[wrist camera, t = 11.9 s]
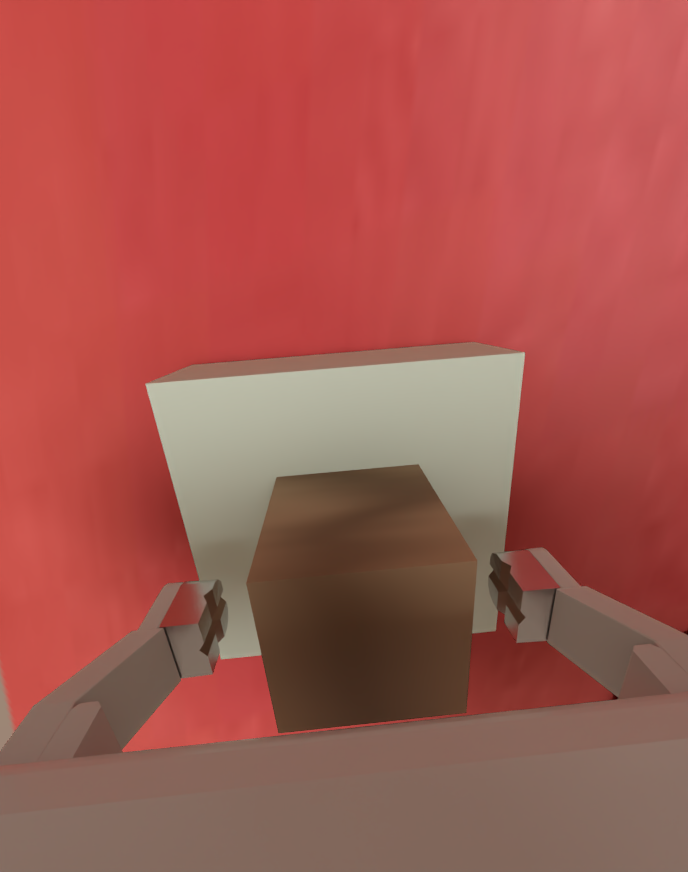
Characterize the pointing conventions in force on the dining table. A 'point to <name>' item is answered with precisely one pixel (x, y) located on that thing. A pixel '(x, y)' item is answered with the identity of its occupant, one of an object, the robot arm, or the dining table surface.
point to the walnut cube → (362, 600)
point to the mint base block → (337, 447)
